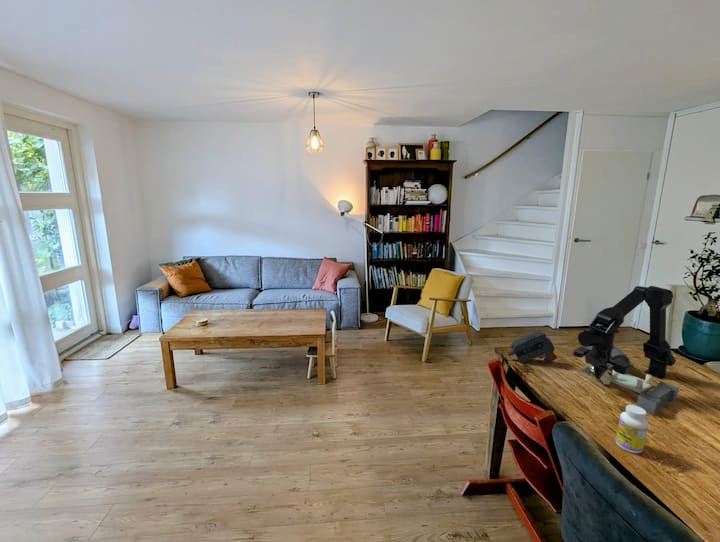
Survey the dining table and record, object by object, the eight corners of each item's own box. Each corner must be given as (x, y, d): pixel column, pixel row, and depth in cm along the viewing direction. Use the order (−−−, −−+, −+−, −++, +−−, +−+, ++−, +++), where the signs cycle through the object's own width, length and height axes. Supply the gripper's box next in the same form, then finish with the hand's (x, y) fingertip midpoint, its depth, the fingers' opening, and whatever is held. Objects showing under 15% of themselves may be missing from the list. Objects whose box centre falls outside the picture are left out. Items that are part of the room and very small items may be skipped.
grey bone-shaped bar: (658, 393, 130) (661, 381, 129) (676, 400, 125) (678, 388, 124) (635, 407, 121) (638, 395, 120) (653, 415, 116) (656, 402, 115)
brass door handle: (586, 367, 148) (588, 360, 147) (602, 369, 146) (603, 362, 146) (598, 383, 136) (599, 375, 135) (615, 385, 134) (616, 377, 133)
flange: (591, 365, 151) (591, 365, 151) (614, 374, 143) (614, 374, 143) (580, 370, 146) (580, 370, 146) (603, 380, 139) (603, 379, 139)
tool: (561, 360, 150) (547, 332, 148) (519, 376, 155) (505, 349, 154) (556, 354, 155) (542, 327, 154) (516, 369, 161) (502, 343, 159)
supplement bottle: (609, 439, 105) (616, 403, 102) (629, 437, 106) (636, 401, 103) (628, 455, 99) (635, 417, 96) (648, 453, 99) (657, 415, 96)
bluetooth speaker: (579, 350, 166) (582, 331, 164) (599, 351, 165) (602, 332, 162) (605, 374, 144) (609, 352, 142) (629, 375, 143) (633, 353, 140)
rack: (621, 373, 144) (623, 364, 143) (653, 385, 135) (655, 375, 134) (608, 380, 139) (610, 370, 138) (640, 393, 129) (642, 383, 128)
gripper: (568, 339, 136) (563, 373, 140) (620, 357, 120) (613, 396, 124) (583, 333, 142) (578, 367, 145) (635, 350, 126) (628, 388, 129)
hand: (597, 378), depth 136 cm, fingers closed
